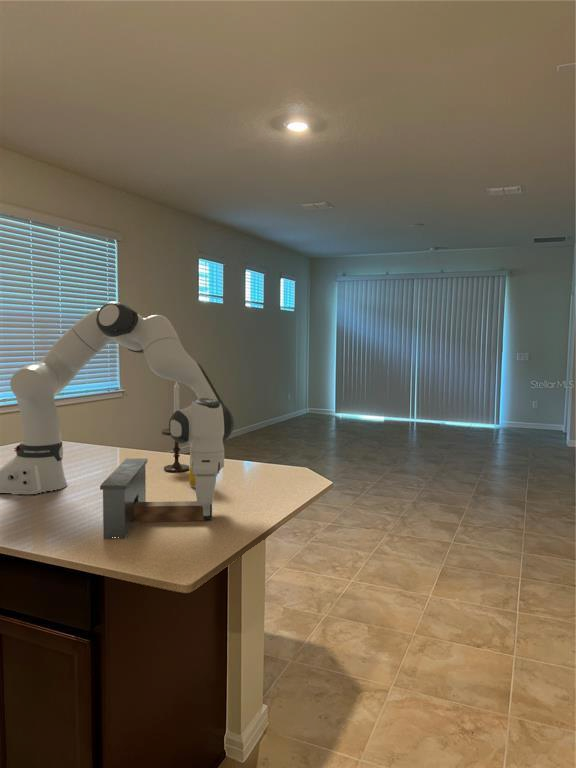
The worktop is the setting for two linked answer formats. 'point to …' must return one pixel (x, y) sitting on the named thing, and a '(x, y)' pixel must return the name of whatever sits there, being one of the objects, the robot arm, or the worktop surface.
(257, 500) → the worktop surface
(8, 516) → the worktop surface
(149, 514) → the rod
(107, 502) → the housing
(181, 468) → the candlestick
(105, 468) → the worktop surface
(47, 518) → the worktop surface
